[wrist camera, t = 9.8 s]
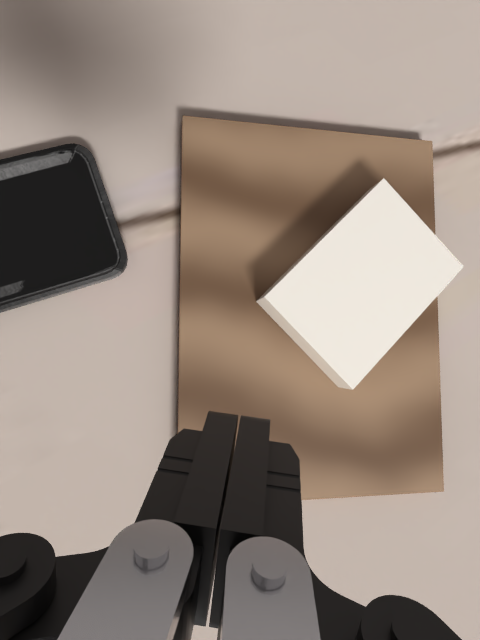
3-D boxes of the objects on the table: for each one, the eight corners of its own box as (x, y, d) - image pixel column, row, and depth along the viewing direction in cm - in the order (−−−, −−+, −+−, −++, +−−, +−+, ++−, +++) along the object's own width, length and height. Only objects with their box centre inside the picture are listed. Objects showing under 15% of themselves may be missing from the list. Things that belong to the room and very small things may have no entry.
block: (352, 389, 24) (463, 266, 26) (264, 296, 23) (383, 178, 25) (337, 387, 26) (441, 272, 28) (255, 301, 25) (367, 191, 27)
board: (181, 124, 26) (182, 115, 26) (423, 148, 29) (432, 141, 28) (176, 501, 25) (177, 507, 24) (433, 486, 28) (443, 491, 27)
